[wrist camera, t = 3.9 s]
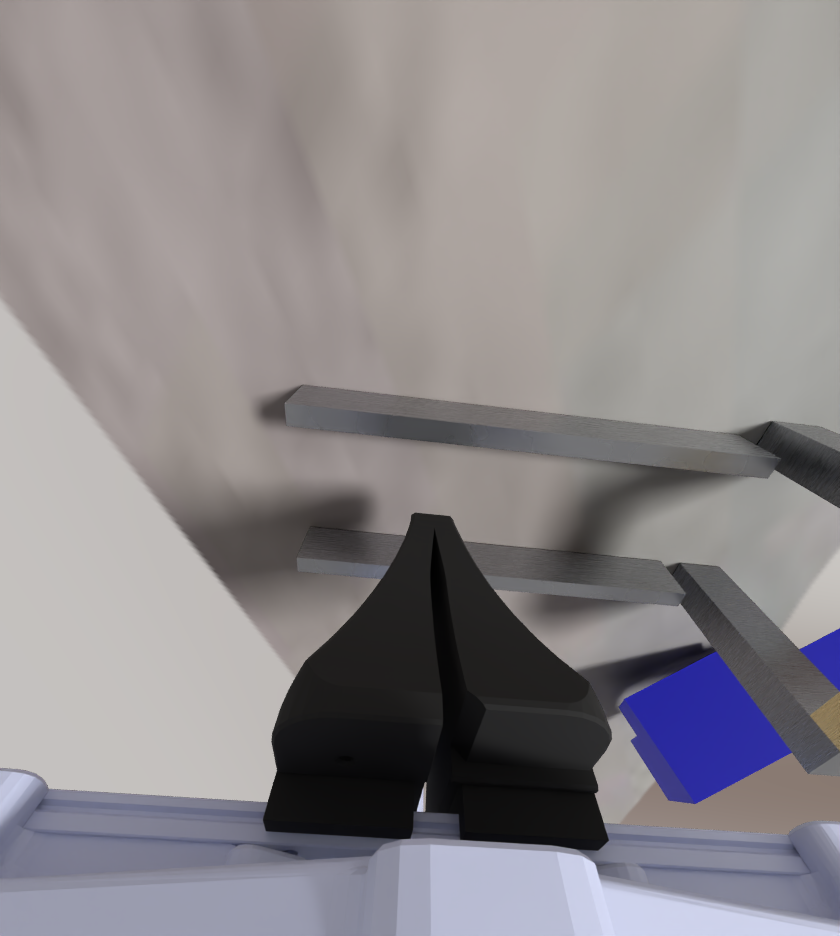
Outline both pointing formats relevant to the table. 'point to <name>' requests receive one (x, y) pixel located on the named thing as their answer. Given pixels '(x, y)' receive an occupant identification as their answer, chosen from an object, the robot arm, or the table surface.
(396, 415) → the guide channel
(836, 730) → the bracket
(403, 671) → the robot arm
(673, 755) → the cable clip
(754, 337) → the table surface
